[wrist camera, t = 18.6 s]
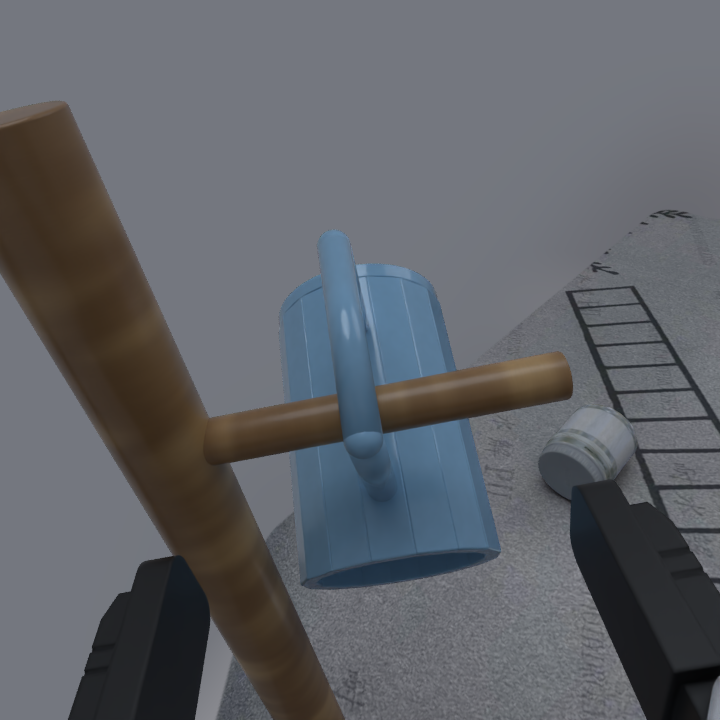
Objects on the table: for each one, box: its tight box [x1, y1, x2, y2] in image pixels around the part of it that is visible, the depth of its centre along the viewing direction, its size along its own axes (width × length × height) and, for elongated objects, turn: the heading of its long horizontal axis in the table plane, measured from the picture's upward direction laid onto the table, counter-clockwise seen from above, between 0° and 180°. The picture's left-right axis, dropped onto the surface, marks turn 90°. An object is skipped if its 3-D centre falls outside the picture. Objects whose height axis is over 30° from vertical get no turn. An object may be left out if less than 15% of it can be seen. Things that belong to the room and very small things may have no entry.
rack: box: [0, 101, 573, 720], centre depth 21 cm, size 14×8×42 cm, turn 94°
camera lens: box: [538, 404, 637, 500], centre depth 52 cm, size 6×6×8 cm
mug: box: [279, 230, 501, 590], centre depth 18 cm, size 11×6×10 cm
